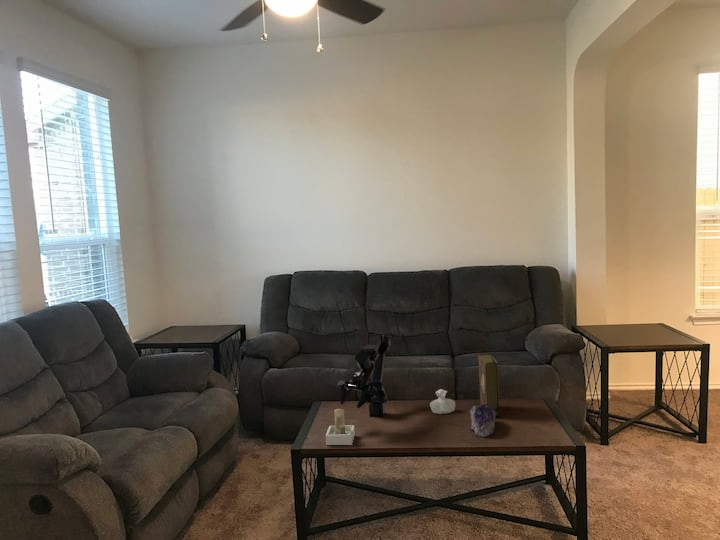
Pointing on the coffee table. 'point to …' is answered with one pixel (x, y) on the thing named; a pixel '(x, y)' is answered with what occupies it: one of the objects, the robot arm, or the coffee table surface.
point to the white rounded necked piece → (442, 403)
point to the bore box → (340, 436)
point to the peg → (339, 421)
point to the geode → (482, 420)
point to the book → (489, 382)
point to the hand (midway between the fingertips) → (349, 406)
